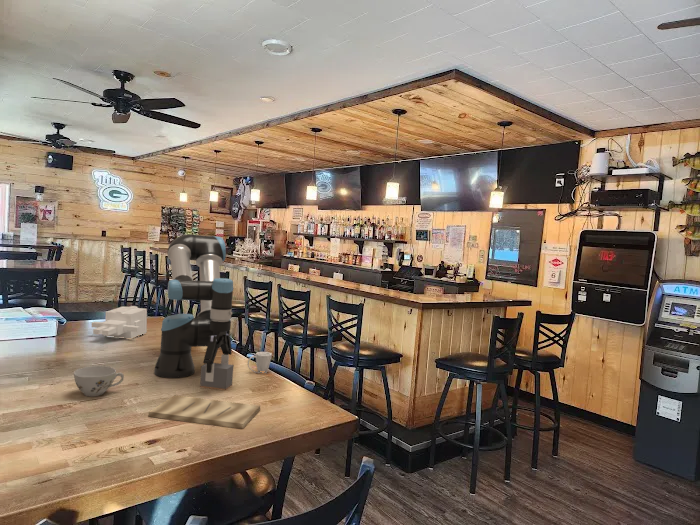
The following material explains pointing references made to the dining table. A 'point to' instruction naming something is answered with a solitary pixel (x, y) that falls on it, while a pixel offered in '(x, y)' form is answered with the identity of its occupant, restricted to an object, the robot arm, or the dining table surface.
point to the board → (206, 411)
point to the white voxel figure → (123, 322)
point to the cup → (262, 361)
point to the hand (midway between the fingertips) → (216, 376)
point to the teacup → (96, 379)
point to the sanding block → (218, 377)
